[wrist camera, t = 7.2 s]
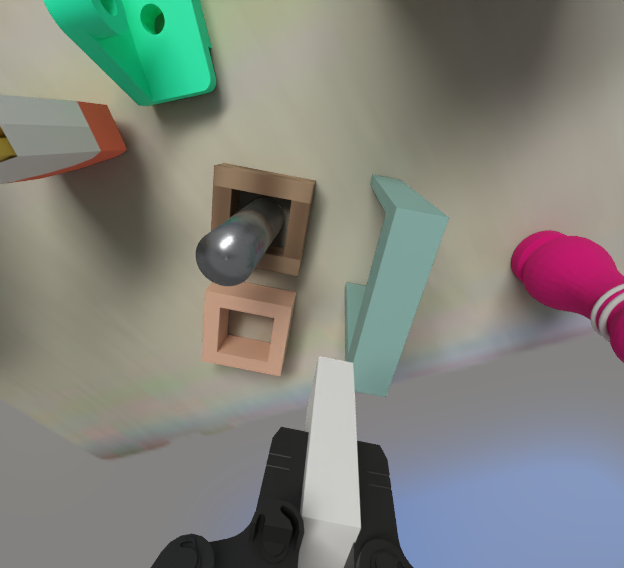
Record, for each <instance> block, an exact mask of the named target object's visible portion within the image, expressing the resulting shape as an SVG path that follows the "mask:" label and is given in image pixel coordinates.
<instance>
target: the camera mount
mask: <svg viewBox="0 0 624 568" xmlns="http://www.w3.org/2000/svg"><path fill="white" fill-rule="evenodd" d="M43 1H44V3H45V5H46V7H47V9H48V11H49V13H50V14H51V16H52V17H53V19H54V20H55V22H56V23H57V24H58V26H59V27H60V28H61V29H62V30H63V31H64V33H65V34H66V35H67V36H68V37H69V38H71V39H72V40H73V41H74V42H75V43H76V44H77V45H78V46H79V47H80V48H81V49H82V50H83V51H84V52H85V53H86V54H87V55H88V56H89V57H90V58H91V59H92V60H93V61H94V62H95V63H96V64H97V65H98V66H99V67H100V68H101V69H102V70H103V71H104V72H105V73H106V74H107V75H108V76H109V77H110V78H111V79H112V80H113V81H114V82H115V83H116V84H117V85H118V86H120V87H121V88H122V89H123V90H124V91H125V92H126V93H127V94H128V95H129V96H130V97H131V98H132V99H133V100H134V101H135V102H136V103H137V104H138V105H142V106H151V105H155V104H160V103H164V102H169V101H174V100H178V99H183V98H187V97H192V96H196V95H201V94H206V93H210V92H212V91H213V90H214V88H215V86H216V76H215V72H214V68H213V64H212V60H211V56H210V52H209V49H212V48H211V44H210V40H209V36H208V31H207V27H206V23H205V19H204V15H203V11H202V7H201V3H200V0H43ZM161 13H163V15H164V19H165V25H164V28H163V30H162V31H161V32H160V33H159V34H157V33H156V30H155V20H156V18H157V16H158V15H159V14H161Z"/></svg>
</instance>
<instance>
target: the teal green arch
mask: <svg viewBox="0 0 624 568" xmlns="http://www.w3.org/2000/svg"><path fill="white" fill-rule="evenodd" d="M370 185H371V187H372V189H373V190H374V192H375V194H376V196H377V198H378V200H379V202H380V203H381V205H382V207H383V209H384V211H385V213H386V215H385V219H384V222H383V226H382V230H381V234H380V237H379V241H378V245H377V248H376V252H375V256H374V260H373V263H372V267H371V271H370V274H369V278H368V282H367V286H363V285H358V284H353V283H348V282H347V283H346V287H345V361H346V362H351V363H353V369H354V391H356V392H361V393H366V394H371V395H376V396H381V397H386V395H387V393H388V390H389V387H390V384H391V381H392V378H393V376H394V373H395V370H396V367H397V364H398V361H399V359H400V356H401V353H402V350H403V347H404V344H405V342H406V339H407V336H408V333H409V330H410V327H411V324H412V322H413V319H414V316H415V313H416V310H417V307H418V305H419V302H420V299H421V296H422V293H423V290H424V287H425V285H426V282H427V279H428V276H429V273H430V270H431V268H432V265H433V262H434V259H435V256H436V253H437V250H438V248H439V245H440V242H441V239H442V236H443V233H444V231H445V228H446V225H447V222H448V219H449V217H448V216H446V215H445V214H444V213H443V212H441V211H440V210H439V209H437V208H436V207H435V206H434V205H432V204H431V203H430V202H428V201H427V200H426V199H425V198H423V197H422V196H421V195H420V194H418V193H417V192H416V191H414V190H413V189H412V188H411V187H409V186H408V185H407V184H406V183H404V182H403V181H402V180H399V179H394V178H388V177H383V176H378V175H373V174H372V179H371V183H370Z"/></svg>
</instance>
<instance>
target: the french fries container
mask: <svg viewBox="0 0 624 568" xmlns="http://www.w3.org/2000/svg"><path fill="white" fill-rule="evenodd" d="M126 150H127V148H126V146H125V144H124V141H123V139H122V137H121V135H120V133H119V131H118V128H117V126H116V124H115V122H114V120H113V117H112V115H111V113H110V111H109V109H108V106H107V105H102V104H94V103H86V102H79V101H68V100H56V99H45V98H33V97H22V96H10V95H0V184H5V183H12V182H19V181H27V180H34V179H40V178H45V177H49V176H53V175H57V174H61V173H65V172H69V171H74V170H78V169H81V168H84V167H87V166H90V165H93V164H96V163H99V162H102V161H105V160H108V159H111V158H114V157H117V156H119V155H121V154H122V153H123V152H125V151H126Z"/></svg>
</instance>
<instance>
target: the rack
mask: <svg viewBox="0 0 624 568" xmlns="http://www.w3.org/2000/svg"><path fill="white" fill-rule="evenodd" d="M295 298H296V292H292V291H287V290H282V289H277V288H272V287H267V286H262V285H256V284H251V283H246V282H242V283H241V284H238V285H235V286H222V285H218V284H215V283H214V282H212V283H211V285H210V286H209V287H208V288H207V289H206V290H205V306H204V330H203V353H202V361H205V362H210V363H215V364H220V365H225V366H230V367H235V368H240V369H245V370H250V371H255V372H260V373H265V374H270V375H276V376H281V372H282V368H283V364H284V360H285V356H286V350H287V345H288V339H289V333H290V327H291V321H292V316H293V310H294V304H295ZM229 309H231V310H236V311H241V312H246V313H251V314H256V315H261V316H266V317H271V318H274V324H273V330H272V337H271V343H268V342H263V341H258V340H253V339H248V338H243V337H237V336H232V335H227V332H228V319H229Z"/></svg>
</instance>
